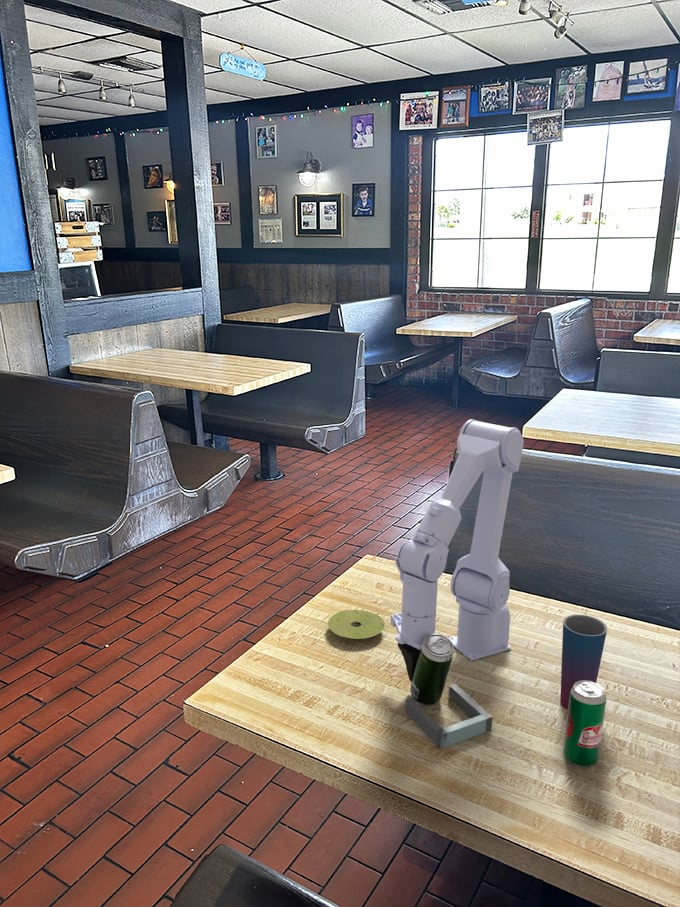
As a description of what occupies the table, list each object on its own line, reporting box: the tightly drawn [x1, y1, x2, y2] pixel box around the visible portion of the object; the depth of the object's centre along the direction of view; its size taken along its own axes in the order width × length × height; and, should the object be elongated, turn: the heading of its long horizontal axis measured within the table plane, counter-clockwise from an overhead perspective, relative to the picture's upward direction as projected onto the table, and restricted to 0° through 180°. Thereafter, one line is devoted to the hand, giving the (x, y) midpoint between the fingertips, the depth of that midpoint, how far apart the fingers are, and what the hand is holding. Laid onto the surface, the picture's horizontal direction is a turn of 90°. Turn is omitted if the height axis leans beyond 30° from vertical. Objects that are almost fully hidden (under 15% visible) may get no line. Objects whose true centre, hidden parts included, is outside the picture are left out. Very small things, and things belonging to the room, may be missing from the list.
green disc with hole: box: [327, 609, 385, 640], centre depth 142 cm, size 11×11×2 cm
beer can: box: [409, 633, 455, 707], centre depth 118 cm, size 5×5×12 cm
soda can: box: [562, 680, 607, 768], centre depth 106 cm, size 5×5×12 cm
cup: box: [559, 614, 608, 711], centre depth 118 cm, size 7×7×15 cm
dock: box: [404, 683, 493, 750], centre depth 115 cm, size 10×10×2 cm
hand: (415, 680), depth 123 cm, fingers closed
